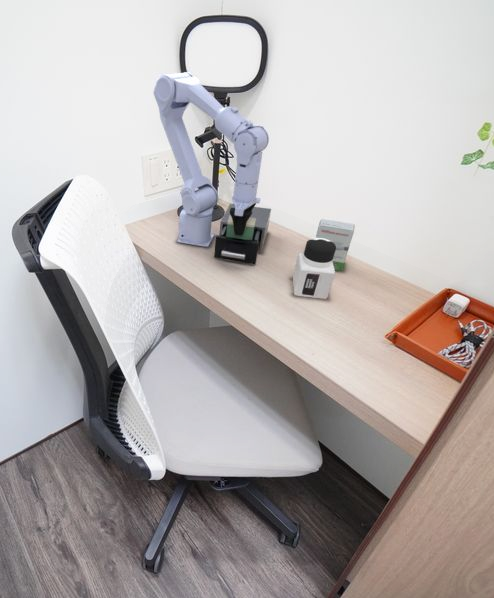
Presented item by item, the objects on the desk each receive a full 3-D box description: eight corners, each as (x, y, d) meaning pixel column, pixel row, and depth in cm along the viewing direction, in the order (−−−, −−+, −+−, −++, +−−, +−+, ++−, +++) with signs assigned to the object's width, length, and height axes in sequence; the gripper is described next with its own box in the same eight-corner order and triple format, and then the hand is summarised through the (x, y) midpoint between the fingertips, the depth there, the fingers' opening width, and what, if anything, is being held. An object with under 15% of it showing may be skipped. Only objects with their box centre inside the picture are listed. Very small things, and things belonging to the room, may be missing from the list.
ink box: (343, 263, 99) (356, 223, 92) (341, 271, 96) (355, 231, 89) (310, 256, 102) (320, 217, 95) (308, 264, 99) (318, 224, 92)
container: (327, 299, 86) (342, 252, 78) (293, 295, 87) (305, 248, 79) (323, 282, 92) (337, 236, 84) (292, 278, 93) (303, 232, 85)
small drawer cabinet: (261, 253, 103) (265, 227, 98) (218, 246, 106) (220, 221, 102) (267, 233, 114) (271, 208, 109) (227, 227, 117) (230, 203, 112)
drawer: (252, 272, 93) (256, 251, 90) (210, 265, 96) (211, 244, 92) (261, 243, 106) (264, 223, 102) (223, 237, 109) (225, 218, 105)
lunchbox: (225, 237, 98) (227, 221, 95) (228, 230, 101) (229, 215, 98) (252, 240, 96) (254, 225, 93) (253, 233, 100) (256, 218, 97)
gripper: (258, 192, 83) (250, 245, 91) (266, 173, 94) (258, 221, 102) (228, 189, 85) (223, 240, 93) (239, 170, 96) (234, 218, 104)
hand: (240, 230), depth 98 cm, fingers closed on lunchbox, 4 cm apart
